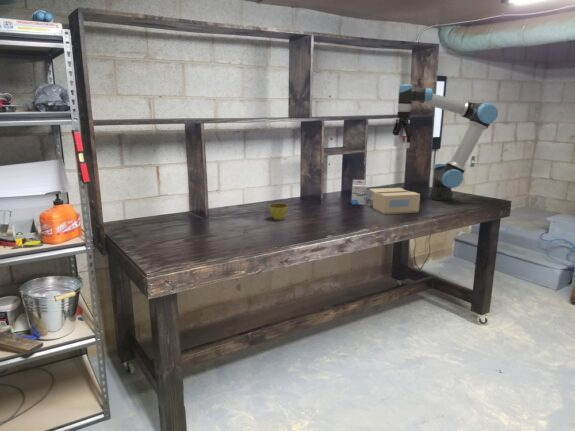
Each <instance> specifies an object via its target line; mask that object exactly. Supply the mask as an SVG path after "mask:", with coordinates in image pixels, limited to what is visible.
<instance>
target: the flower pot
mask: <svg viewBox="0 0 575 431" xmlns="http://www.w3.org/2000/svg"><path fill="white" fill-rule="evenodd" d="M288 207H289V205H288V204H285V203H272V204H268V209H269V212H270V215H271V217H272V219H274V220H275V221H276V220H277V221H281V220H284V218H285V216H287V215H286V214H287V212H288V209H289V208H288Z"/></svg>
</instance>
